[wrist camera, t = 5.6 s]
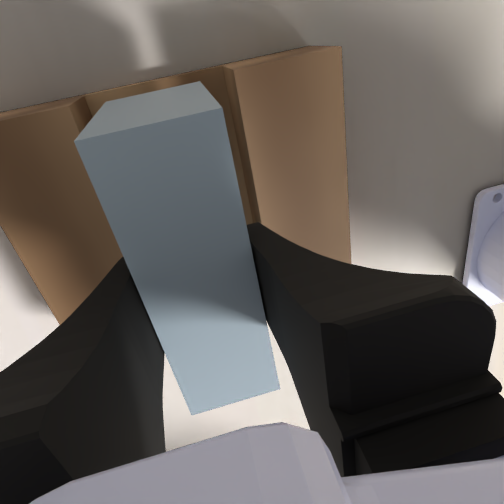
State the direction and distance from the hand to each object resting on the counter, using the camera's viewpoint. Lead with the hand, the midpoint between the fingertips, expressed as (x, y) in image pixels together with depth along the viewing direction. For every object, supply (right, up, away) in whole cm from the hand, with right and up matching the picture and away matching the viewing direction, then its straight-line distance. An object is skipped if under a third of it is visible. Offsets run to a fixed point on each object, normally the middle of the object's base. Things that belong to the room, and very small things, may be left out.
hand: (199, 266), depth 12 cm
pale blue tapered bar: (-1, +2, +2) cm, 3 cm away
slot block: (-1, +3, +5) cm, 5 cm away
